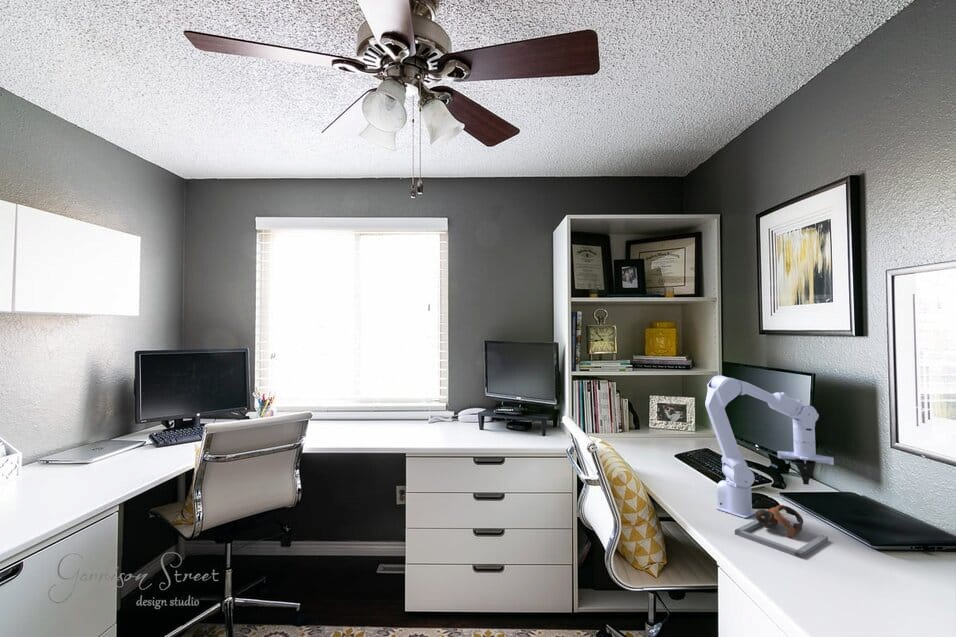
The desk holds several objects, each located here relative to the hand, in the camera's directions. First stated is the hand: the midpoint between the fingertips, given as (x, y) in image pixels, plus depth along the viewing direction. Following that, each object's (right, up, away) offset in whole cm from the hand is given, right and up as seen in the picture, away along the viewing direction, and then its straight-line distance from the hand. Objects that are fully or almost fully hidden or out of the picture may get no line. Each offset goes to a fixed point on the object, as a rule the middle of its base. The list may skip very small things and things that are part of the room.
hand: (805, 483), depth 145 cm
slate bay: (-18, -9, -16) cm, 26 cm away
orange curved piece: (-17, -10, -12) cm, 23 cm away
